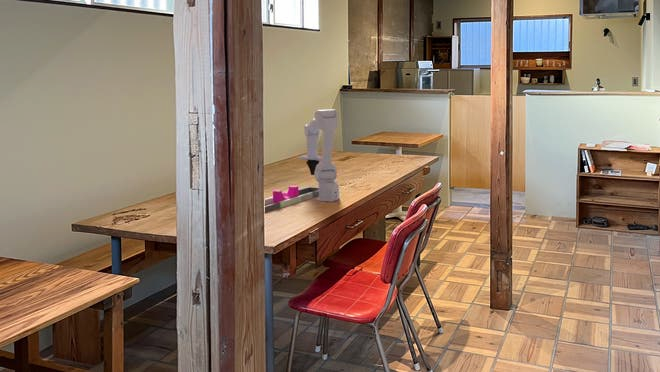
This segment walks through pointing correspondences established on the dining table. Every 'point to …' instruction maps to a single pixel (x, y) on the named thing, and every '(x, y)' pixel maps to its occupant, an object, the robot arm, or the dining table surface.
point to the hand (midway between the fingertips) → (313, 174)
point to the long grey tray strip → (303, 195)
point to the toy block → (285, 194)
